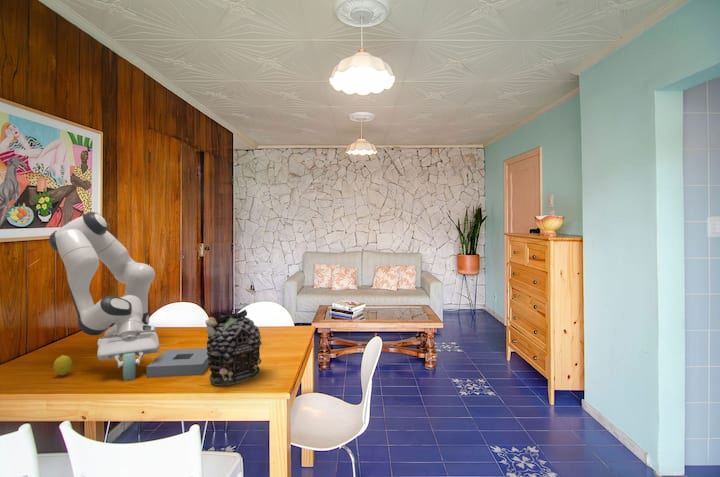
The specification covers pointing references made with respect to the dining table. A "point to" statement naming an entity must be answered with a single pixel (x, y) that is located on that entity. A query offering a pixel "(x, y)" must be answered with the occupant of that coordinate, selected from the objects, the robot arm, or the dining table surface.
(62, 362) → the lemon
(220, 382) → the decorative house
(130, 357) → the peg
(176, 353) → the cutout board
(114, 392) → the dining table surface
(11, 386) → the dining table surface
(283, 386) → the dining table surface
